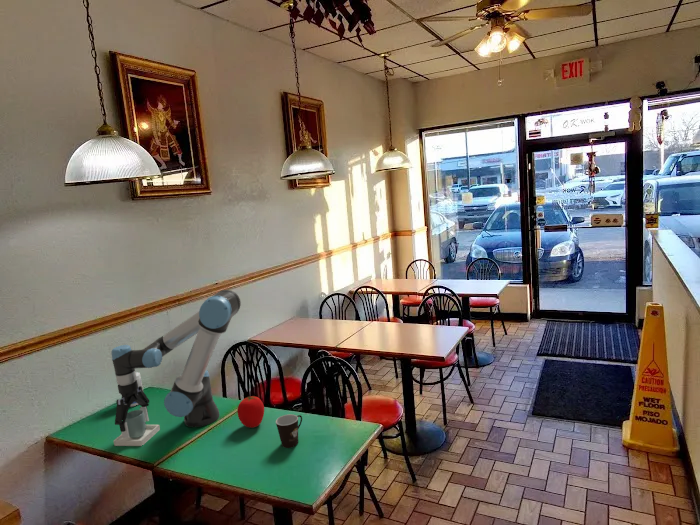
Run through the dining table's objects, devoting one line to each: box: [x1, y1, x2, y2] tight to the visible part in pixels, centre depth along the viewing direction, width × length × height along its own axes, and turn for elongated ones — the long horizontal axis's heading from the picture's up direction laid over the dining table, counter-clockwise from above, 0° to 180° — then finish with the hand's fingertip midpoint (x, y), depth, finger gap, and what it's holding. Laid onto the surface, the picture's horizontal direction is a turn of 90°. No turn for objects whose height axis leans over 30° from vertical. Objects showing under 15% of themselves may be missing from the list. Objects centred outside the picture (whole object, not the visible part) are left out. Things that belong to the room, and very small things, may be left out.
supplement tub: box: [125, 371, 144, 408], centre depth 240 cm, size 10×10×15 cm
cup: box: [125, 409, 147, 438], centre depth 204 cm, size 8×8×10 cm
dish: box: [113, 424, 161, 447], centre depth 205 cm, size 13×13×2 cm
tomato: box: [236, 395, 265, 429], centre depth 203 cm, size 11×11×13 cm
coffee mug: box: [275, 413, 303, 449], centre depth 187 cm, size 12×9×10 cm
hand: (136, 429), depth 204 cm, fingers open, 13 cm apart
